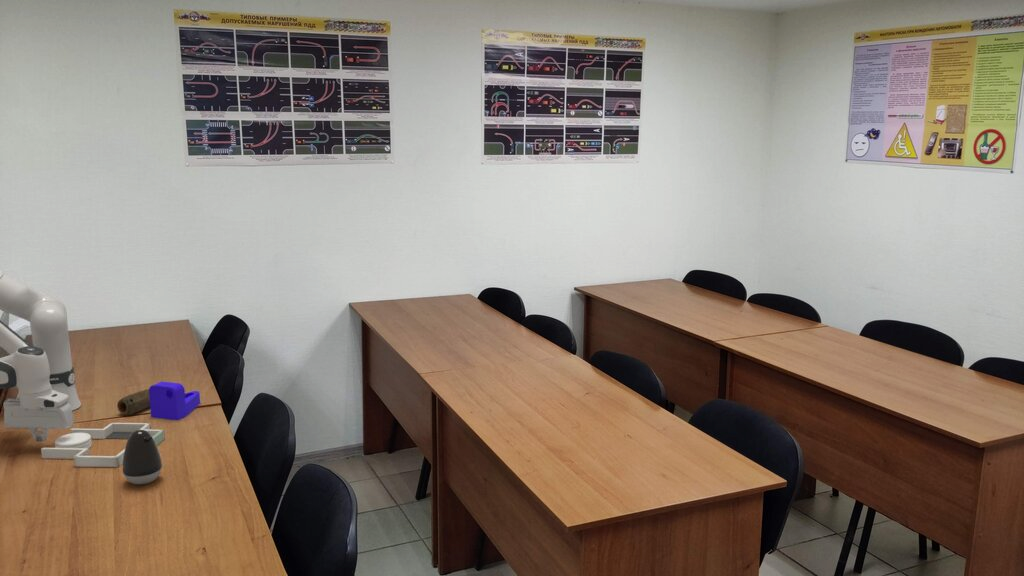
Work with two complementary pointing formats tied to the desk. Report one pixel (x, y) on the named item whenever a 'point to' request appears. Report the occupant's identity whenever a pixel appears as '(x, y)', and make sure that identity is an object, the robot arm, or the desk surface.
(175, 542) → the desk surface
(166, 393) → the bracket
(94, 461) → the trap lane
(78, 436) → the coaster
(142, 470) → the dark grey egg shape
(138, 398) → the brown hollow cylinder
